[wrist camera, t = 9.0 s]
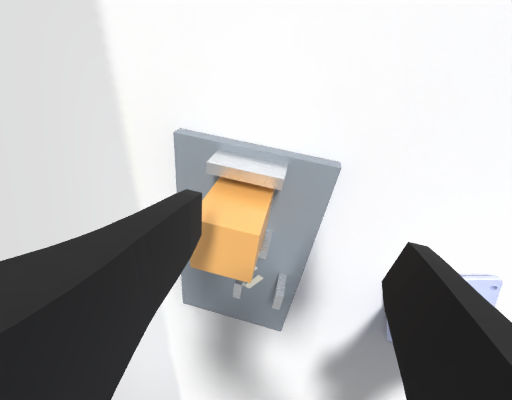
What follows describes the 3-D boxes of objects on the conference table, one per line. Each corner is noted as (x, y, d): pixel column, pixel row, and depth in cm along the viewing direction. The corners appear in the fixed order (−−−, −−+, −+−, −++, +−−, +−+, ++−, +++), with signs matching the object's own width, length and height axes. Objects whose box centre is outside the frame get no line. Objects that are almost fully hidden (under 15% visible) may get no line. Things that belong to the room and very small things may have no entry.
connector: (267, 224, 20) (250, 283, 15) (221, 213, 20) (190, 267, 16) (275, 183, 18) (259, 235, 13) (223, 171, 18) (188, 218, 13)
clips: (282, 288, 24) (279, 310, 22) (192, 263, 25) (181, 282, 23) (296, 244, 20) (294, 265, 19) (191, 217, 21) (178, 235, 19)
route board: (281, 323, 29) (280, 332, 28) (186, 295, 30) (182, 303, 29) (340, 162, 17) (341, 168, 16) (180, 128, 18) (173, 132, 17)
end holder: (271, 238, 21) (265, 259, 19) (215, 224, 21) (204, 243, 19) (288, 163, 17) (284, 179, 15) (219, 148, 17) (206, 162, 15)
